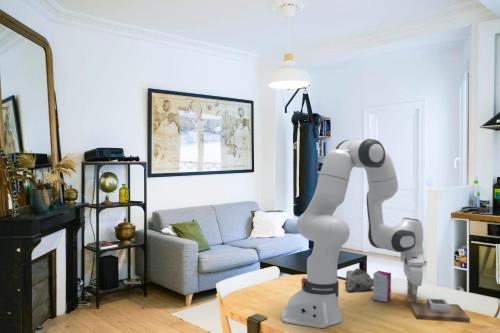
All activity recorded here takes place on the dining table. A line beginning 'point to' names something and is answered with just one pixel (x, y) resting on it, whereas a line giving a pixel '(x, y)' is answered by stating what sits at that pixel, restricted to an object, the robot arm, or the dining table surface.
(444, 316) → the walnut board
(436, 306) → the gray square dish
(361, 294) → the dining table surface
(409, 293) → the birch stick
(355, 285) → the mineral rock
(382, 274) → the supplement box
